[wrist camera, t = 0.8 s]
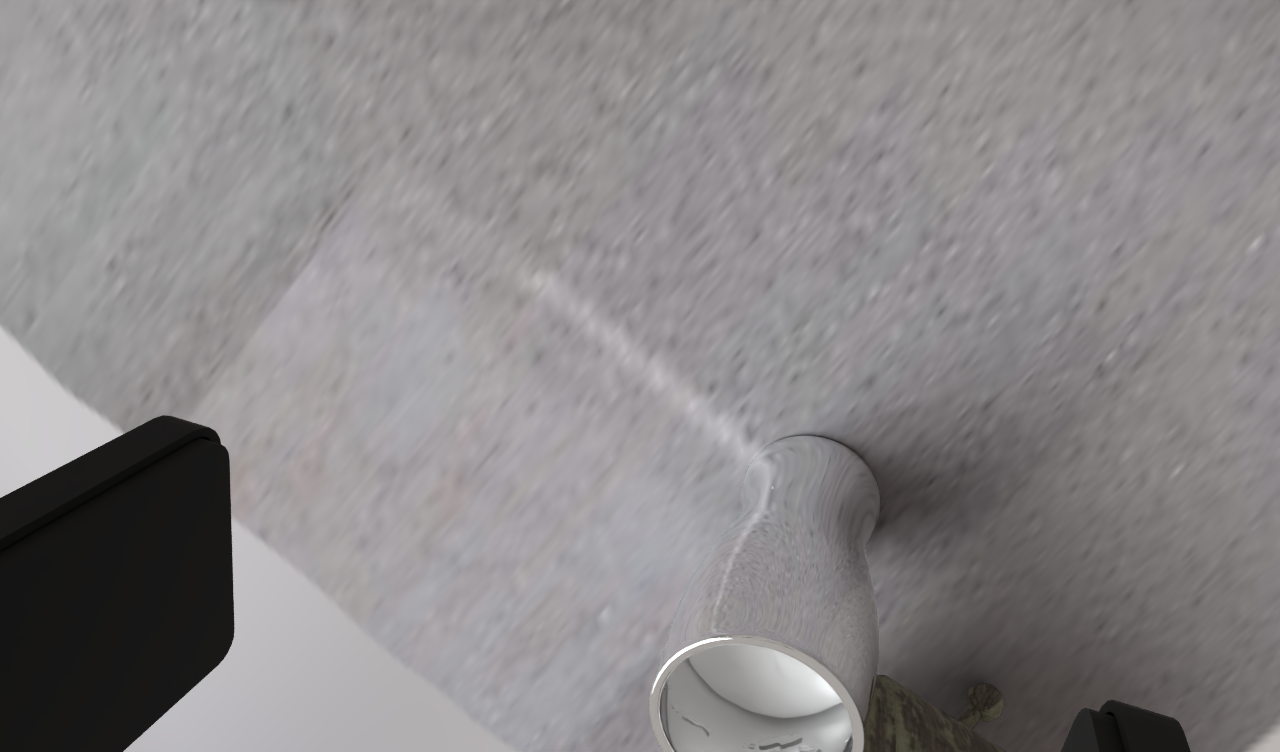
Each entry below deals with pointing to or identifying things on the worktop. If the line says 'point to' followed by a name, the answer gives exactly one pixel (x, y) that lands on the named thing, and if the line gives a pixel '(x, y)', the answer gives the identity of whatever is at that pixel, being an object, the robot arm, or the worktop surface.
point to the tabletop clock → (928, 721)
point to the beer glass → (779, 614)
